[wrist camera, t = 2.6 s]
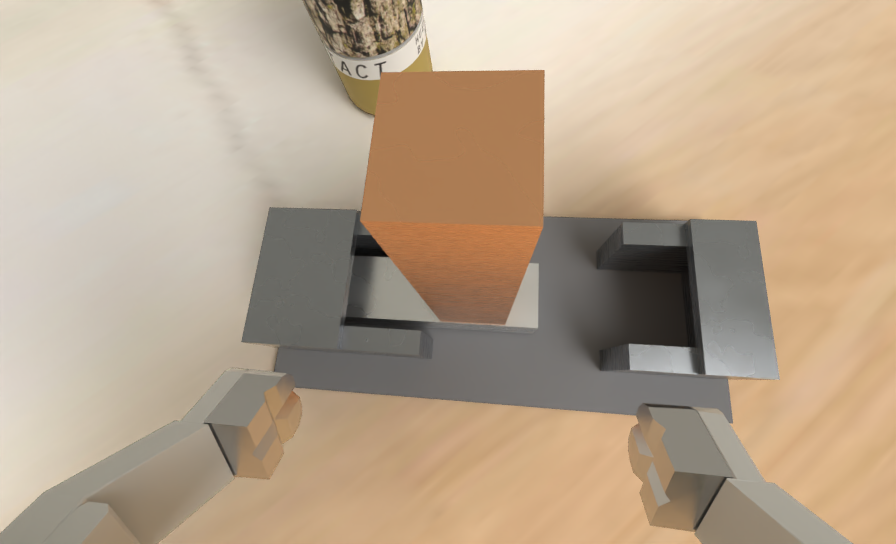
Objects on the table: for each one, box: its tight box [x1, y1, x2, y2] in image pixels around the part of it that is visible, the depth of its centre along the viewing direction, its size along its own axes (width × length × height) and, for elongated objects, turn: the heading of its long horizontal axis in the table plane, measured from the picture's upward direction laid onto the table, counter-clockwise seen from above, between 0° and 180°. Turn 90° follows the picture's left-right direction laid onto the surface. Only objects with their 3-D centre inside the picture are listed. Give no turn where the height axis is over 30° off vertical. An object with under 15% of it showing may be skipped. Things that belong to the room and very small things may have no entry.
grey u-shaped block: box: [242, 207, 433, 359], centre depth 22 cm, size 9×7×5 cm
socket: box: [596, 219, 780, 380], centre depth 20 cm, size 6×7×5 cm
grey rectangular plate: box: [274, 211, 733, 423], centre depth 24 cm, size 27×12×1 cm, turn 86°
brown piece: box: [345, 70, 544, 334], centre depth 16 cm, size 15×4×17 cm, turn 86°
